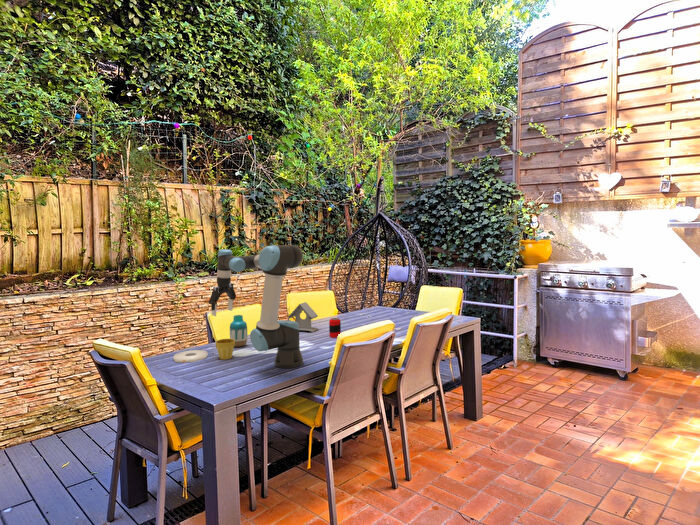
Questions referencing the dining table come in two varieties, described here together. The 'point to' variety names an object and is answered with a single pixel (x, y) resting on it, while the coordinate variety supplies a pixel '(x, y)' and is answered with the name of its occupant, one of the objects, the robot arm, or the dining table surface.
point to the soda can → (334, 327)
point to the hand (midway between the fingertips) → (222, 312)
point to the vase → (238, 331)
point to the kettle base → (190, 356)
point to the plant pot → (225, 348)
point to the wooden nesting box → (305, 323)
